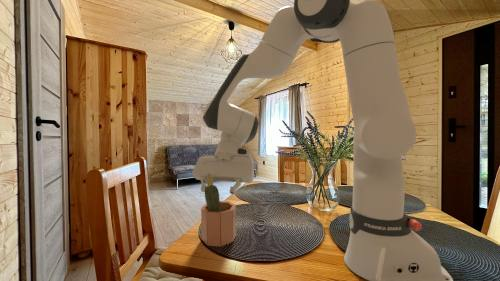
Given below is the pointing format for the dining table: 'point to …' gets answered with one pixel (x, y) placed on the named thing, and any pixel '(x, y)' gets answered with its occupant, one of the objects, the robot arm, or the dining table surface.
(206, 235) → the crock
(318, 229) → the dining table surface
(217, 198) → the vegetable
